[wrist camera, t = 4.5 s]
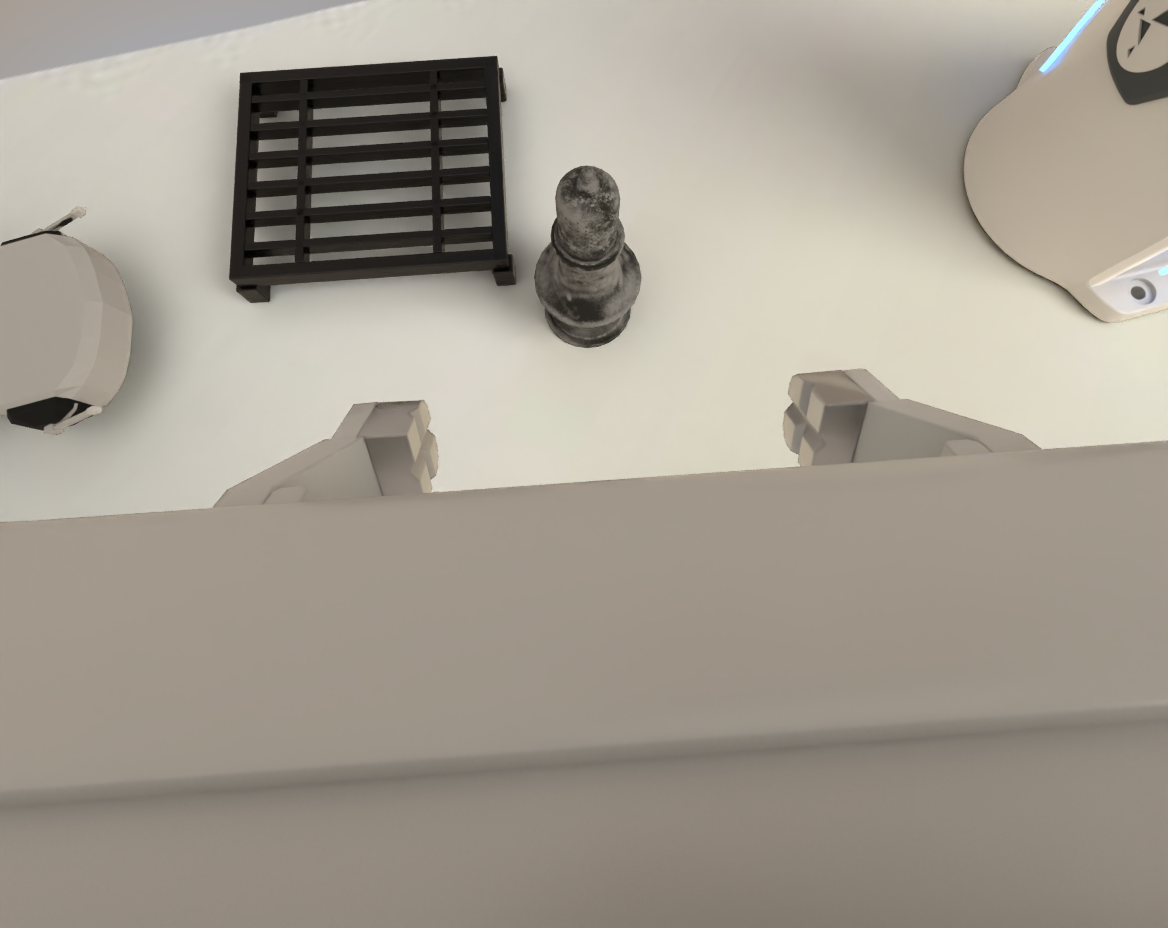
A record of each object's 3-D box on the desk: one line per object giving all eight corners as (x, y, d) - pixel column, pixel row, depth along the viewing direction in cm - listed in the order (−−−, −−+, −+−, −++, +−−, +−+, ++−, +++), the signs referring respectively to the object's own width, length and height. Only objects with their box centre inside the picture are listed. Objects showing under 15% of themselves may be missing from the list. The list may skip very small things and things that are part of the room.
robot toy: (-69, 488, 33) (169, 425, 33) (-177, 477, 29) (96, 403, 28) (-72, 302, 35) (150, 240, 35) (-173, 265, 31) (80, 194, 30)
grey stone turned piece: (605, 247, 35) (613, 82, 23) (653, 323, 34) (688, 191, 22) (522, 290, 34) (488, 144, 23) (569, 369, 33) (559, 259, 22)
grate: (505, 86, 37) (500, 52, 35) (516, 285, 34) (510, 263, 32) (259, 103, 37) (236, 69, 35) (250, 303, 34) (224, 282, 32)
